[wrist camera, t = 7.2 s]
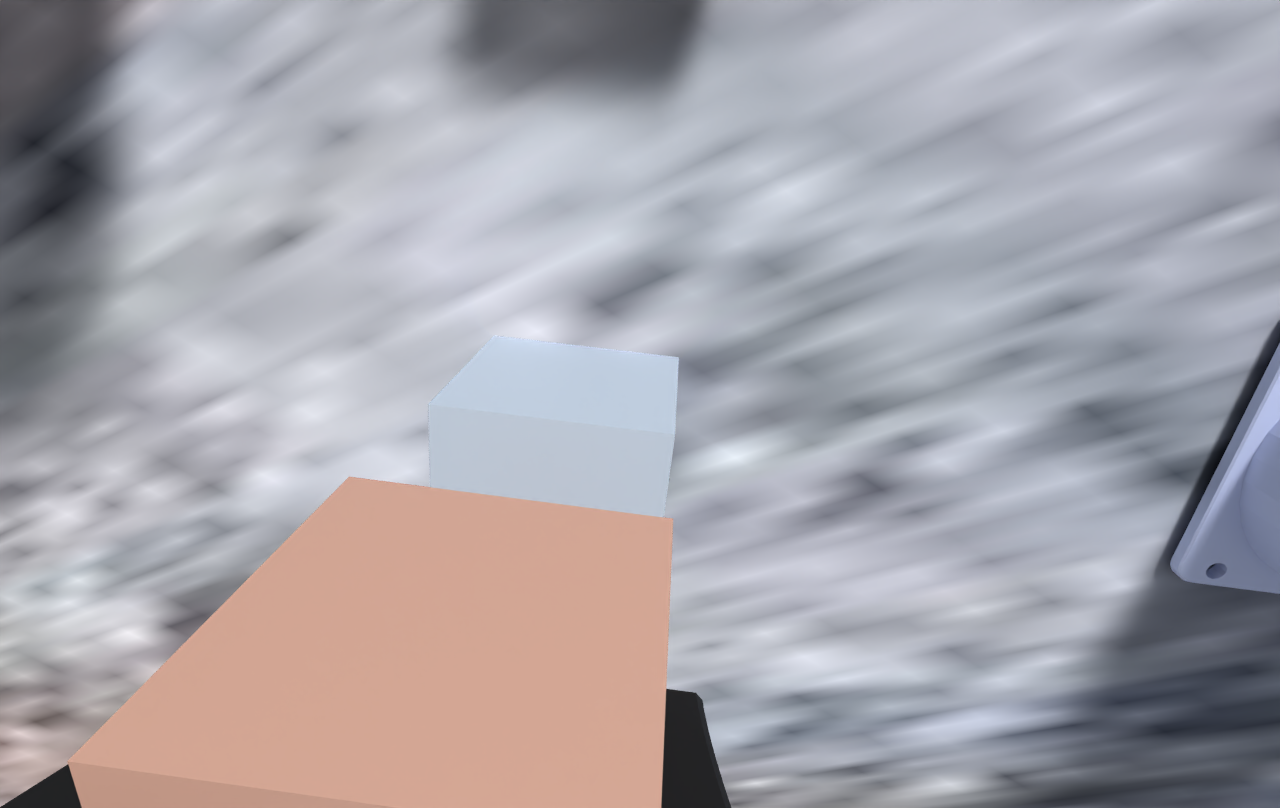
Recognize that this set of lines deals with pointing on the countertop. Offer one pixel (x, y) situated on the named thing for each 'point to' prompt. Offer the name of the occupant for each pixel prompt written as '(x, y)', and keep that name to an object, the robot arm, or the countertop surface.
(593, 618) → the terracotta block
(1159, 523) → the countertop surface
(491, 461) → the blue-grey block
